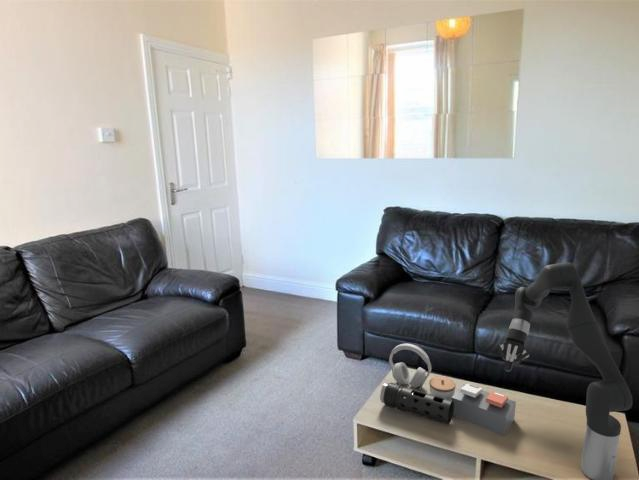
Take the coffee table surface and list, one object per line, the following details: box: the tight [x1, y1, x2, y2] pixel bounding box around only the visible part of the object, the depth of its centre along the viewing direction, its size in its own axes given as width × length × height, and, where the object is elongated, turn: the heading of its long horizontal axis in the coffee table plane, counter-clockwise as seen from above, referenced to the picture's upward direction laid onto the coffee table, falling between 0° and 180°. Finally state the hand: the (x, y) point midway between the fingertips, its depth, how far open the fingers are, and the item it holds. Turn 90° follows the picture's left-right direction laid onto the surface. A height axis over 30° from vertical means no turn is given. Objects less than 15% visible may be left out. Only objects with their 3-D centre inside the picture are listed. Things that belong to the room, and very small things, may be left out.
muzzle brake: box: [379, 382, 454, 425], centre depth 177 cm, size 10×28×10 cm, turn 59°
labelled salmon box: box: [485, 390, 509, 408], centre depth 169 cm, size 6×8×2 cm
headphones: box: [388, 342, 432, 390], centre depth 195 cm, size 19×8×20 cm, turn 60°
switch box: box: [451, 383, 517, 437], centre depth 173 cm, size 21×12×9 cm, turn 51°
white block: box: [460, 383, 483, 398], centre depth 175 cm, size 6×8×2 cm
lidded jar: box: [429, 375, 457, 400], centre depth 186 cm, size 11×11×9 cm
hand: (507, 370), depth 176 cm, fingers closed
